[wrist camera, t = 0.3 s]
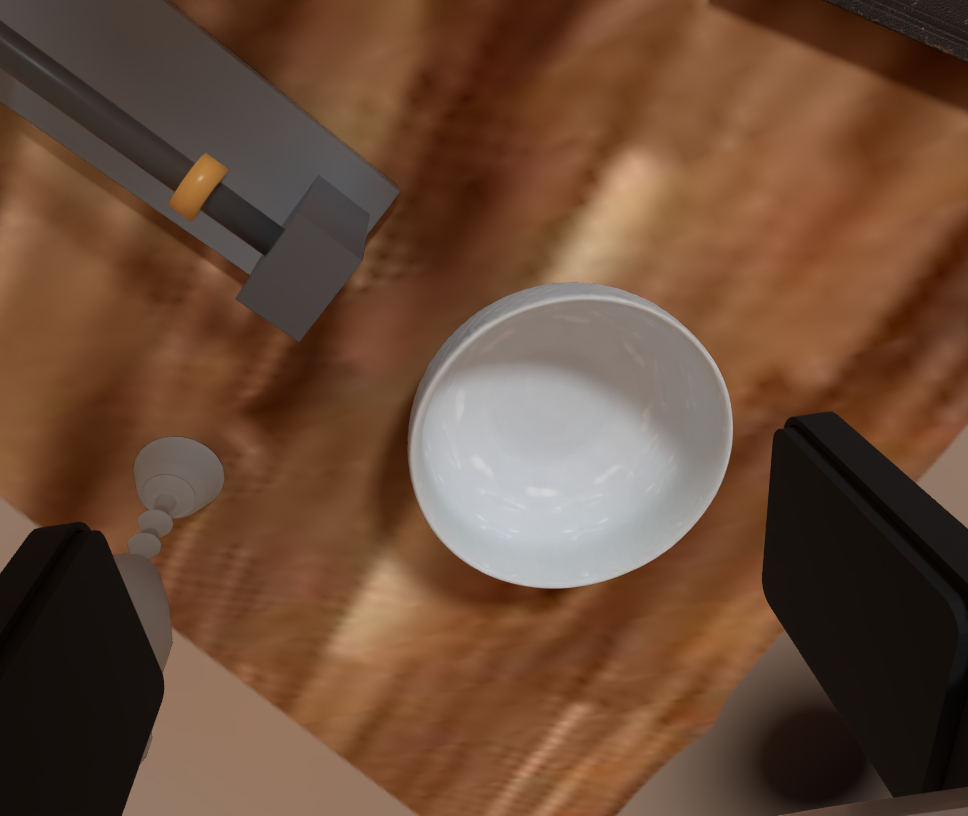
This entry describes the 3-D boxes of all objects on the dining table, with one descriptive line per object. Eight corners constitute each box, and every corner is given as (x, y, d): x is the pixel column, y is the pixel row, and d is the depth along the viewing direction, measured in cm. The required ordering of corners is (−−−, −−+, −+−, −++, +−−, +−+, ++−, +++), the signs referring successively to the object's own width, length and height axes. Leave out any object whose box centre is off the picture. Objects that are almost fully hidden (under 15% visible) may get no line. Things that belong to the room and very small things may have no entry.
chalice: (169, 397, 41) (26, 631, 25) (266, 470, 44) (192, 723, 28) (89, 479, 43) (-93, 745, 27) (187, 544, 46) (75, 821, 30)
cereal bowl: (712, 466, 47) (760, 533, 41) (463, 550, 48) (473, 628, 42) (654, 210, 39) (702, 245, 33) (359, 316, 40) (352, 370, 34)
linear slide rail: (-220, -315, 27) (-485, -461, 19) (400, 188, 37) (400, 233, 29) (-296, -115, 29) (-561, -168, 21) (308, 307, 40) (284, 380, 32)
